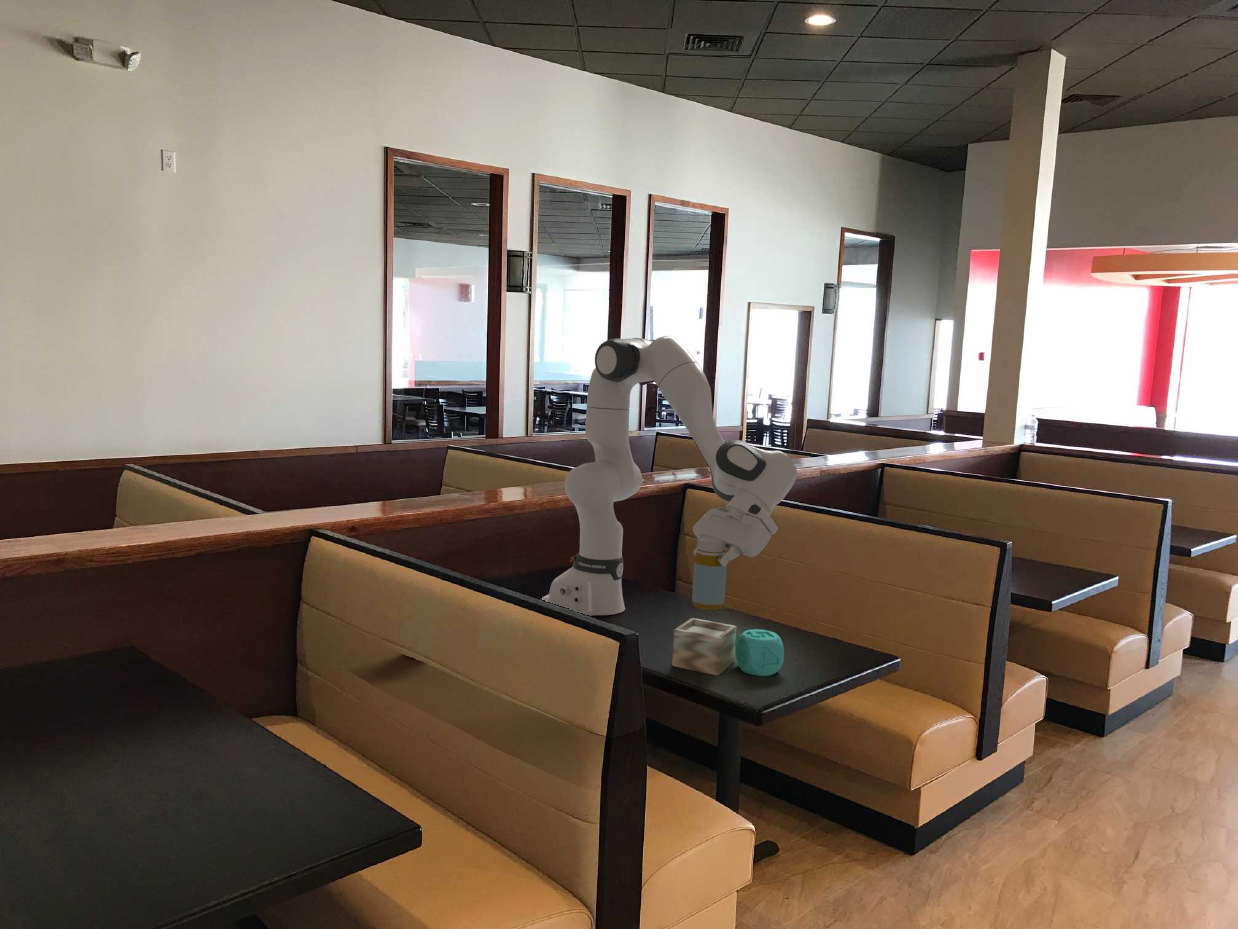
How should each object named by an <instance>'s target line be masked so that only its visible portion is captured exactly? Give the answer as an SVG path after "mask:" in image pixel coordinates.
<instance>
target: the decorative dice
mask: <svg viewBox="0 0 1238 929" xmlns="http://www.w3.org/2000/svg"><path fill="white" fill-rule="evenodd" d="M784 649H785V648H784V643H783V641H782V639H781V637H780V635H778V634H777V633H776V632H773V631H770V630H766V629H757V628H755V629H748V630H745V631H743V632H742V633H741V634H740V635H739V636H738V638H737V641H736V642H735V656H736V661H737V665H738V667H739V669H740V670H741V671H742V672H743V673H746V674H748V675H752V676H757V677H768V676H769V677H770V676H773V675H775V674H776V673H777V672H779V671H780V670H781V668H782V666H783V664H784V660H785V659H784V658H785V650H784Z"/></svg>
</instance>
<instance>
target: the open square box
mask: <svg viewBox="0 0 1238 929" xmlns="http://www.w3.org/2000/svg"><path fill="white" fill-rule="evenodd" d="M737 627H738V626H737V625H733V624H727V623H723V622H715V621H711V620H706V619H701V618H700V619H699V618H697V617H696V618H695V617H691V618H689V619H688V620H687V621H685V622H684V623H682V624H680V625H679V626H677V627H676V628H674V629H673V630H674V631H673V644H672V646H673V647H672V648H673V649H672V661H671V664H672V665H671V666H673V667H676V668H682V669H685V670H690V671H695V672H699V673H704V674H709V675H713V676H719V675H720V674H722V673H723V672H724V671H725V670H726V669H727V668H729V667H730V666H731V665H732V664H733V663H734V662H735V656H736V643H737V641H736V639H737Z"/></svg>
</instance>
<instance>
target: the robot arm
mask: <svg viewBox="0 0 1238 929" xmlns="http://www.w3.org/2000/svg"><path fill="white" fill-rule="evenodd" d="M594 366H595V367H594V369H593V370H592V372H591V375H590V379H589V384H588V389H587V396H586V397H587V398H586V412H585V432H584V435H585V438H586V440H587V441H588V442H589V443H590V444H591V445H592V448H593V452H594V459H595V461H593V462H585V463H582V464H580V465H578V466H576V467H574V468H572V469H570V471H569V472H568V473H567V474H566V476H565V478H564V490H565V494H566V496H567V498H568V499H569V500H570V502H572V503H573V505H574V507H575V509H576V512H577V516H578V521H579V530H580V531H579V552H578V553H576V554H574V555H573V556H571V557H570V560H569V562H573V564H572V567H570V568H568V569H567V570H566V571H564V572H563V573H562V574H560V575H559V576H557V577H556V578H554V579H553V580H552V582H551V584H550V589H549V593H548V594H546V595H545V596H542V598H541V599H542V600H545V601H546V602H550V603H553V604H556V605H559V606H562V607H565V608H569V610H573V611H575V612H579V613H583V614H585V615H589V616H590V617H591V616H609V615H616V614H620V613H622V612H624V611H625V610H626V607H625V602H624V597H623V586H622V579H623V578H622V577H623V573H624V572H623V571H624V555H622V554H623V553H622V552H623V536H624V528H623V525H622V524H621V522H620V521H618V519H617V517H616V514H615V510H614V503H615V502H620V501H624V500H626V499H628V498H630V497H632V496H633V495H635V494H637V492H638V491H640V488H641V486H642V482H643V475H642V472H641V469H640V468H639V466H638V465H637V464H636V463H635V461H634V459H633V456H632V451H631V446H630V439H629V434H630V433H629V432H630V431H629V430H630V429H629V428H630V425H629V424H630V401H631V392H632V389H633V387H634V386H636V385H638V384H639V385H640V386H645V385H649V384H651V383H655V385H656V386H657V388H658V390H659V391H660V393H661V395H662V396H663V398H665V401H667V403H668V404H669V406H670V407H671V409H672V410H673V411H674V412H675V414H676V416H677V417H678V418H679V420H680V422H681V423H682V424H683V425H684V427H685V428H686V430H687V431H688V433H689V435H690V436H691V439H692V440H693V442H694V444H695V445H696V447H697V449H698V451H699V453H700V454H701V456H702V458H703V460H704V461H705V463H706V465H707V466H708V468H709V472H710V476H711V485H712V489H713V492H714V493H715V494H716V495H717V496H718V497H719V498H721V500H724V501H726V502H727V504H726V506H724V505H719V506H718V507H713V508H710V509H709V510H708V511H707V512H706V513H705V514H703V515H702V516H701V518H699V520H698V521H696V523H695V524H694V525H693V527H692V532H693V534H694V535H695V537H696V538H698V537H702V536H711V537H713V538H716V539H719V540H722V541H725V543H726V549H725V550H728V551H727V552H725V554H724V555H720V556H719V558H718V559H717V562H718V563H719V565H721V566H724V567H725V566H726V567H727V564H729V563H730V562H732V560H734V559H736V558H738V557H739V556H740V555H744V556H747V557H749V558H754V557H756V556H758V555H759V554H761V552H762V551H763V549H765V547H766V546H767V544H768V543H769V541H770V540H771V539H772V538H771V537H772V536H773V535H775V534H776V533H777V532H778V530H779V528H778V525H776V523H775V521H774V520H773V518H772V517H771V514H772V512H773V510H774V509H775V507H776V506H777V505H778V504H780V503H781V502H782V501H783V500H784V499H785V498H786V496H787V494H788V493H789V492H790V490H791V489H792V487H793V486H794V484H795V483H796V480H797V477H798V470H797V466H796V465H795V463H794V461H793V459H792V458H791V457H789V455H788V454H786V453H785V452H783V451H781V450H766V449H763V448H758V447H755V446H753V445H751V444H749V443H748V442H746V441H743V440H740V439H732V440H728V441H726V442H725V440H724V438H723V436H722V434H721V433H720V431H719V429H718V427H717V425H716V422H715V419H714V411H713V402H712V401H713V400H712V390H711V386H710V384H709V381H708V378H707V376H706V374H705V372H704V371H703V369H702V367H701V366H700V364H699V363H698V361H697V360H696V359H695V357H694V356H693V355H692V353H691V352H690V351H689V350H688V349H687V348H686V346H684V344H682V342H680V340H678V338H676V337H674V336H671V335H664V336H661V337H658V338H656V339H647V338H641V337H633V338H610V339H607V340H605V341H603V342H602V343H600V345H599V346H598V347H597V350H596V351H595V355H594ZM692 552H693V554H694V556H696V554H697V546H696V548H694V550H693V551H692ZM589 616H588V617H589Z"/></svg>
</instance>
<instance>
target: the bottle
mask: <svg viewBox="0 0 1238 929" xmlns="http://www.w3.org/2000/svg"><path fill="white" fill-rule="evenodd" d="M696 542H697V543H696V547H697V554H696V556H695V555H694V556H695V557H694V562H693V577H692V578H693V579H692V580H693V581H692V596H691V597H692V598H691V601H692V605H693V606H694V608H698V609H700V610H706V611H717V610H720V609H722V607H724V605H725V595H726V581H727V580H726V579H727V565H726V566H725V567H724V566H721V565H719V563H718V562H717V559H718V558H719V556H720V555H724V554H726V550H727V549H726V543H725V541H722V540H719V539H716V538H713V537H711V536H702V537H697V541H696Z"/></svg>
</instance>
